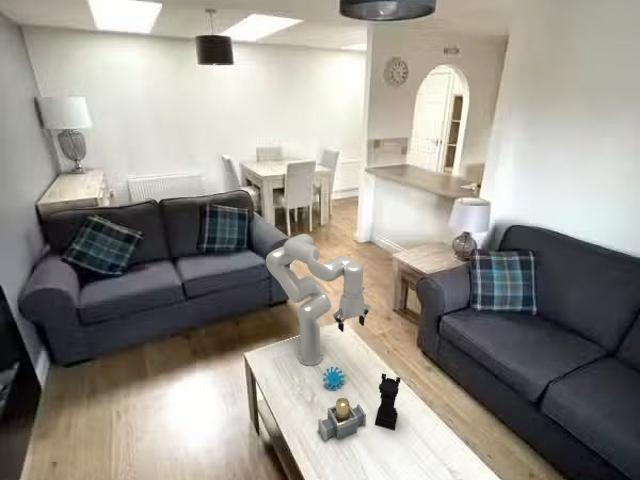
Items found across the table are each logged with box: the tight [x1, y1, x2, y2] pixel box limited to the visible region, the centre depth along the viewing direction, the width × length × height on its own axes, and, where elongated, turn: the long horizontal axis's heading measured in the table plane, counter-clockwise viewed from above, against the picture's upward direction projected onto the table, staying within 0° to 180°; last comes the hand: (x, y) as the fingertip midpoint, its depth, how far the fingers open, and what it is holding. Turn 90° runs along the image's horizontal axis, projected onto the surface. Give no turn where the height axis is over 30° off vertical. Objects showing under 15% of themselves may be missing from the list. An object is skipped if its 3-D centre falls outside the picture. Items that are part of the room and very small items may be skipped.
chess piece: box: [374, 373, 401, 431], centre depth 141 cm, size 8×8×20 cm
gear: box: [322, 366, 347, 391], centre depth 163 cm, size 11×6×10 cm
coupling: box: [335, 397, 350, 422], centre depth 138 cm, size 5×5×7 cm
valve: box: [317, 403, 367, 442], centre depth 140 cm, size 9×18×8 cm, turn 114°
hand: (351, 327), depth 152 cm, fingers open, 9 cm apart
